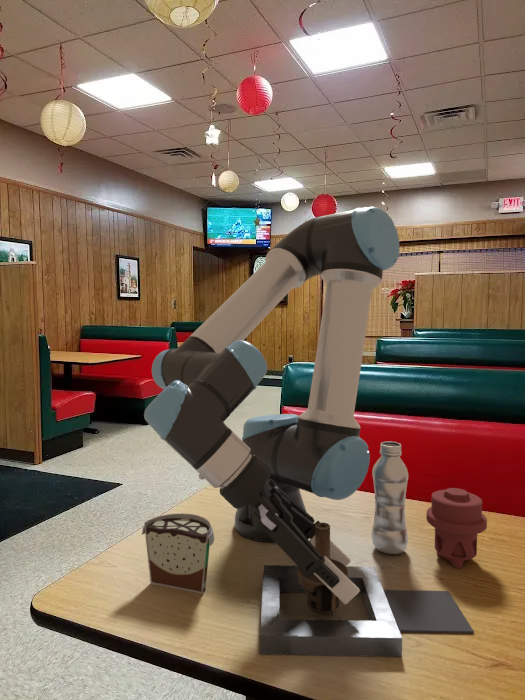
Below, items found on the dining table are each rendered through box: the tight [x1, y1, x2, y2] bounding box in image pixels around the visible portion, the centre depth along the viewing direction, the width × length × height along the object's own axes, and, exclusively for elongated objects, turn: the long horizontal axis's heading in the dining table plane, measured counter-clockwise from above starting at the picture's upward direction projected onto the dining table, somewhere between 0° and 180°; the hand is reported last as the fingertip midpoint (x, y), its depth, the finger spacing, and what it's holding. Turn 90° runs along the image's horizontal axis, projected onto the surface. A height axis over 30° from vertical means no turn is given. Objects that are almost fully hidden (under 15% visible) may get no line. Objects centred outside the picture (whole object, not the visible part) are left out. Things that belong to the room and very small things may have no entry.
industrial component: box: [298, 521, 348, 616], centre depth 70 cm, size 9×7×12 cm
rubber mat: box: [383, 589, 475, 634], centre depth 72 cm, size 10×10×1 cm
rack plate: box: [259, 564, 403, 658], centre depth 71 cm, size 18×18×2 cm
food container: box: [141, 513, 215, 595], centre depth 81 cm, size 12×6×10 cm, turn 71°
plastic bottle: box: [371, 441, 409, 555], centre depth 90 cm, size 6×7×20 cm
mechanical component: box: [426, 487, 488, 569], centre depth 87 cm, size 12×10×10 cm
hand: (347, 580), depth 71 cm, fingers closed on industrial component, 7 cm apart
